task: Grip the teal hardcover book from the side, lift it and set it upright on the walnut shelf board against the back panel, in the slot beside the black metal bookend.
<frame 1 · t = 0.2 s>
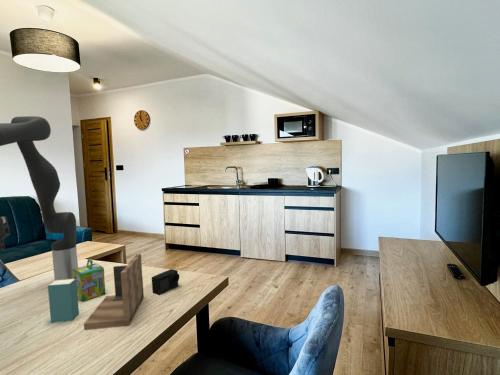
chalk box: (90, 295, 118), on the table
teal hardcover book: (65, 318, 101), on the table
digital camera: (166, 290, 121), on the table
walnut shelf: (117, 312, 104), on the table
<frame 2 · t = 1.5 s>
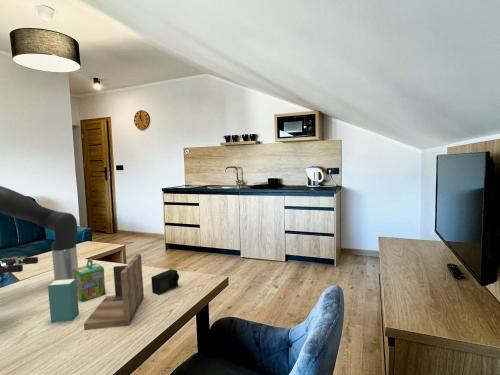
hand: (30, 264, 98), 20 cm above the table, tool horizontal, fingers open, 8 cm apart
nothing on the table moved.
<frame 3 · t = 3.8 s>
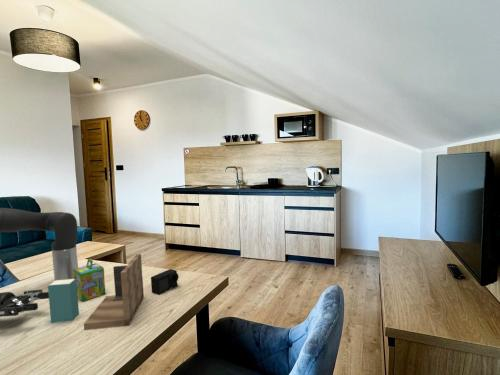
hand: (44, 300, 99), 7 cm above the table, tool horizontal, fingers open, 8 cm apart
nothing on the table moved.
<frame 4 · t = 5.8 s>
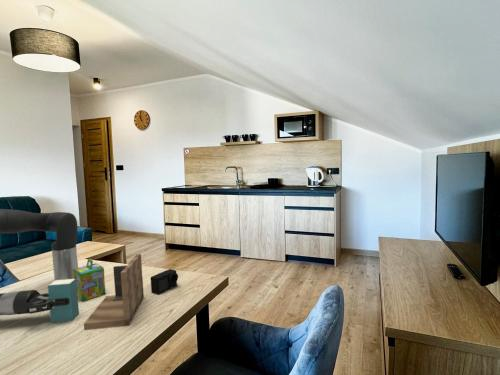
hand: (72, 298, 100), 7 cm above the table, tool horizontal, fingers closed on teal hardcover book, 4 cm apart
teal hardcover book: (65, 318, 101), on the table, touching gripper
everything else where it was.
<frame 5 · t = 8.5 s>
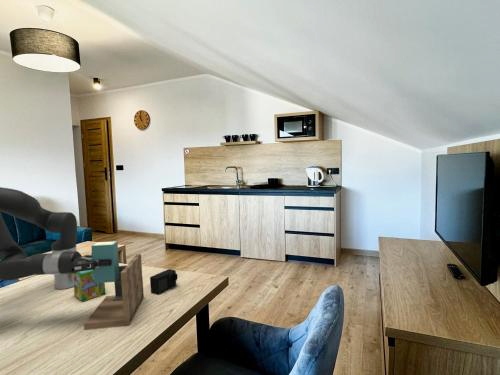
hand: (114, 259, 100), 20 cm above the table, tool horizontal, fingers closed on teal hardcover book, 4 cm apart
teal hardcover book: (107, 279, 101), point 13 cm above the table, touching gripper
everything else where it was.
when the fingers open (10 cm above the table, at t = 11.1 s): teal hardcover book stays where it is, resting on walnut shelf.
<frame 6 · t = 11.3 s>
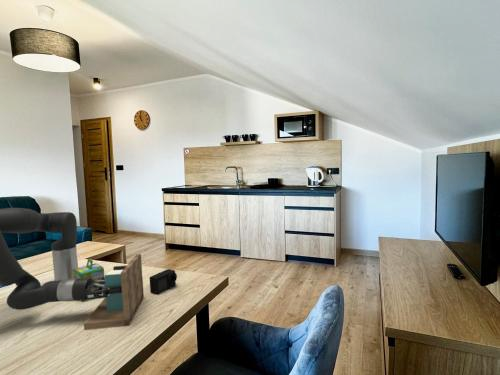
hand: (125, 285, 102), 10 cm above the table, tool horizontal, fingers open, 6 cm apart
teal hardcover book: (119, 307, 103), point 2 cm above the table, touching walnut shelf
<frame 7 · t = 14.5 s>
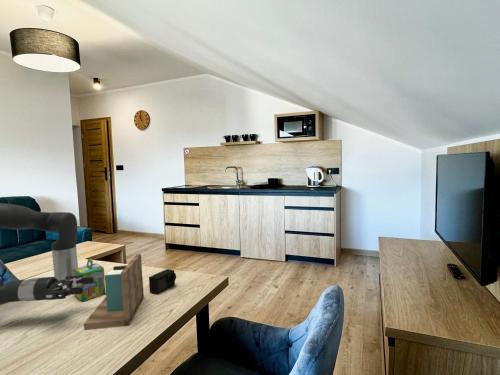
hand: (88, 284, 101), 11 cm above the table, tool horizontal, fingers open, 8 cm apart
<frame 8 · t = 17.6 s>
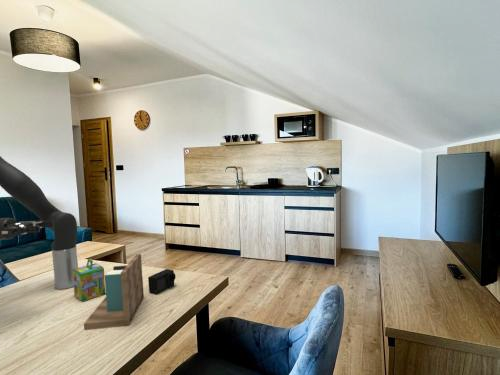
hand: (46, 226, 102), 32 cm above the table, tool horizontal, fingers open, 8 cm apart
at the end: teal hardcover book inside the target area (0.1 cm from its centre), point 2.0 cm above the table; teal hardcover book tilted 0°; the gripper is holding nothing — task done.
